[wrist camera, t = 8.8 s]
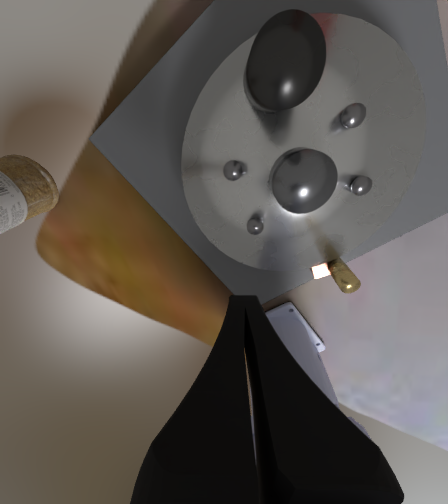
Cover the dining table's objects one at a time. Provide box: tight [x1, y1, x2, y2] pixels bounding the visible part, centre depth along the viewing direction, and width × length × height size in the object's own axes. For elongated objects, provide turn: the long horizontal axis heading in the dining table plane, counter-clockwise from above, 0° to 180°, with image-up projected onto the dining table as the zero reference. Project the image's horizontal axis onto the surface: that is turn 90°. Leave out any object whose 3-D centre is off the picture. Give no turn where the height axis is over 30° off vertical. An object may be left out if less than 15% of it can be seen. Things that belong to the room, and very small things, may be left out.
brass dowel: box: [327, 257, 361, 293], centre depth 17 cm, size 1×1×4 cm
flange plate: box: [181, 9, 426, 279], centre depth 13 cm, size 16×15×5 cm
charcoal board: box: [89, 0, 448, 305], centre depth 16 cm, size 20×20×1 cm
